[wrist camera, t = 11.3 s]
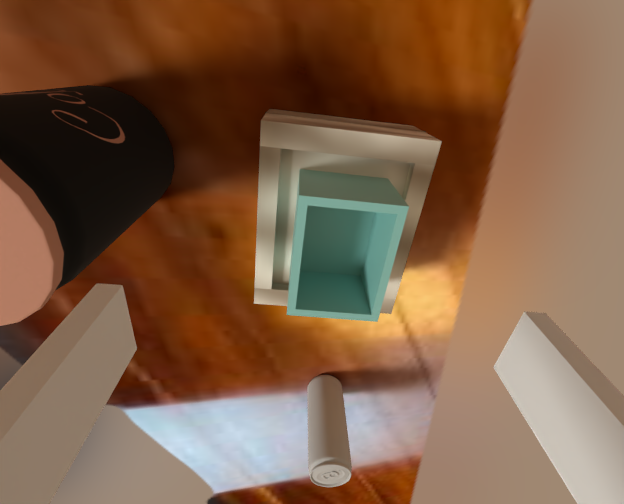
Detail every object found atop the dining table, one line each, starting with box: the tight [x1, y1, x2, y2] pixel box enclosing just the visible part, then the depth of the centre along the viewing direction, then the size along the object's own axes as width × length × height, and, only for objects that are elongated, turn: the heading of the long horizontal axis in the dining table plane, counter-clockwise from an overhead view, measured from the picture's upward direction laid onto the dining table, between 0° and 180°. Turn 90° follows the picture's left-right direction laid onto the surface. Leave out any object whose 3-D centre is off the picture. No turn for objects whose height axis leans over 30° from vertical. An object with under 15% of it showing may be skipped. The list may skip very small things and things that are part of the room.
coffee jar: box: [0, 85, 174, 326], centre depth 23 cm, size 11×11×18 cm
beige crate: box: [254, 109, 442, 314], centre depth 30 cm, size 16×13×7 cm
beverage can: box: [307, 375, 352, 487], centre depth 42 cm, size 5×5×12 cm
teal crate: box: [287, 169, 409, 322], centre depth 26 cm, size 10×7×6 cm
